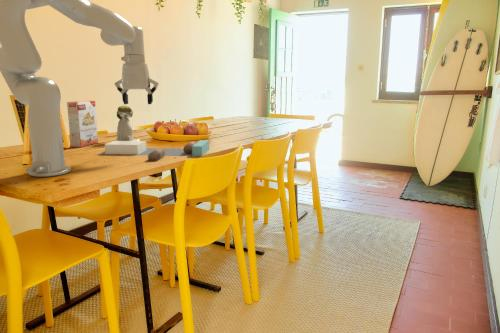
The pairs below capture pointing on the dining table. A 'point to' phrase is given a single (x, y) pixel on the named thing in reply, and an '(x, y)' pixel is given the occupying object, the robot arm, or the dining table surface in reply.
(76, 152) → the dining table surface
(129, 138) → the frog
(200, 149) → the stop block
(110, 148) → the slab
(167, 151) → the mat
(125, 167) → the dining table surface
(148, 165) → the dining table surface
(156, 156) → the roller
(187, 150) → the roller
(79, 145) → the cracker box
